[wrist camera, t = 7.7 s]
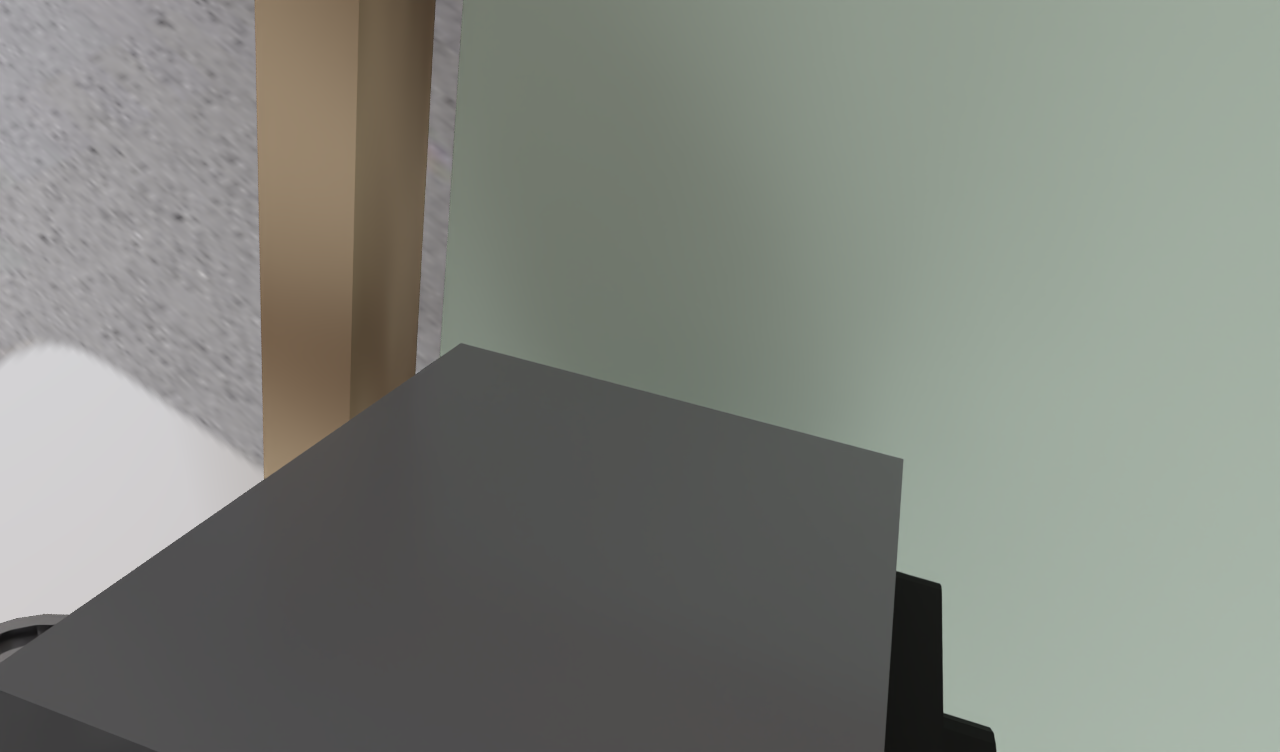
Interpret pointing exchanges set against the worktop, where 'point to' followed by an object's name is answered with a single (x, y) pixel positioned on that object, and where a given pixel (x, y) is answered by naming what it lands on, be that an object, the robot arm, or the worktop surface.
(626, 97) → the trapdoor
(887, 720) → the robot arm
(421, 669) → the stone
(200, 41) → the worktop surface
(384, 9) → the frame
